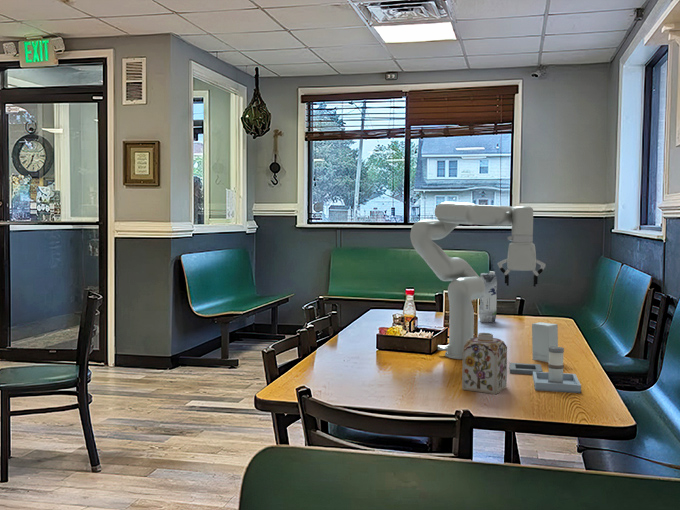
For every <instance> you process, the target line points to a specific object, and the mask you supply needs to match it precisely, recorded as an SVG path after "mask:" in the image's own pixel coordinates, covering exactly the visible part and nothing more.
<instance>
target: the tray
mask: <svg viewBox="0 0 680 510" xmlns="http://www.w3.org/2000/svg"><path fill="white" fill-rule="evenodd" d="M532 381H533V387H534V390H535V391H540V392H541V391H544V392H557V393H573V394H581V393H582V384H581V383H580V380H579V379H578V376H577V374H576V373H567V372H563V384H561V383H548V371H543V372H534V371H533V375H532Z"/></svg>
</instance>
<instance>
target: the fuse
mask: <svg viewBox="0 0 680 510" xmlns="http://www.w3.org/2000/svg"><path fill="white" fill-rule="evenodd" d="M564 352H565V348H564V347H563V346H558V347H549V363H548V365H547V366H548V371H547V372H548V383H561V384H563V373H564Z"/></svg>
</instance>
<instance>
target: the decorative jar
mask: <svg viewBox="0 0 680 510" xmlns="http://www.w3.org/2000/svg"><path fill="white" fill-rule="evenodd" d="M477 335H478V336H477V337H473V338H471V339H468V340H467V342H466V344H465V346H464V348H463V359H462V372H461V373H462V374H461V389H462V390H463V391H469V392H476V393H482V394H490V395H497V394H498V393H500V392H501V391H503V390H504V389H505V388H507V386H508V385H507V383H508V382H507V381H508V380H507V379H508V346H507V344H506V343H505V341H504V340H502V339H500V338H496V337H494V336H493V335H494V334H493V333H489V332H478V334H477Z"/></svg>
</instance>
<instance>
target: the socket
mask: <svg viewBox="0 0 680 510" xmlns="http://www.w3.org/2000/svg"><path fill="white" fill-rule="evenodd" d="M533 371H534V372H544V371H543V368H542V364H539V363H538V364H537V363H521V362H509V374H515V375H516V374H517V375H529V376H531V375H532V376H533Z"/></svg>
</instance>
